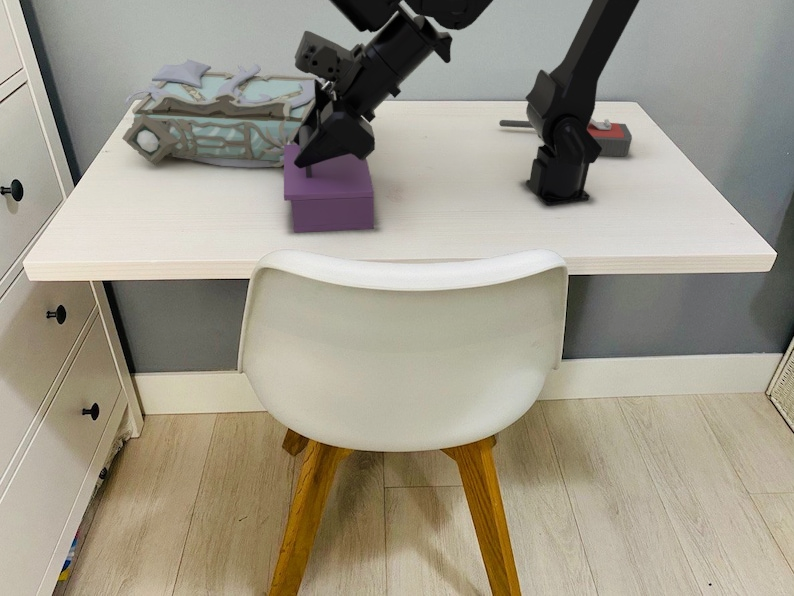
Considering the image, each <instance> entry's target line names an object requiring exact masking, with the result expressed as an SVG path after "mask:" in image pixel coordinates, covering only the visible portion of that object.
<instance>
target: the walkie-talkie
mask: <svg viewBox="0 0 794 596" xmlns="http://www.w3.org/2000/svg"><path fill="white" fill-rule="evenodd" d="M498 124H499V126H500V127H502V128H503V127H505V128H524V129H525V128H526V129H534V128H533V126H532V125H531V124H530V122H529V120H513V119H500V120H499V123H498ZM587 131H588V132H589V133H590V134H591V135H592V137H593V138H594V139H595V140H596V141H597V143H598V144H599V145H600V146H601V147H602V150H601V152H600V154H599V155H598V156H606V157H607V156H608V157H625V156H628V154H629V151H630V147H631V145H632V139H633V135H632V133H631V131H630V129H629V128H628V126H627V124H626V123H619V122H611V121H610V120H609V119H608V118H607V119H604V122H601V121H600V122H599V121H596V120H594V118H592V117H591V120H590V123H589V126H588V128H587Z"/></svg>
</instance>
